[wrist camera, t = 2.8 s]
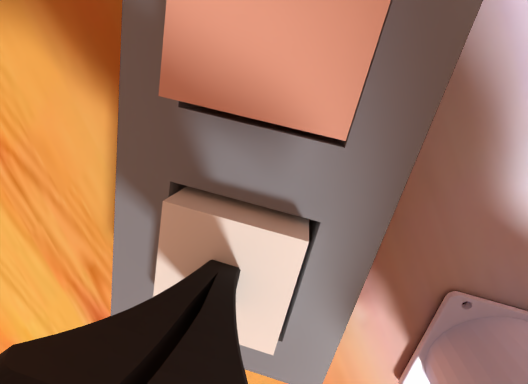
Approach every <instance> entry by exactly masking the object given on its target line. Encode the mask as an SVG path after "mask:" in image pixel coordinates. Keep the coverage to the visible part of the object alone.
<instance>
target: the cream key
mask: <svg viewBox="0 0 528 384" xmlns="http://www.w3.org/2000/svg"><path fill="white" fill-rule="evenodd" d="M308 243H309V219H307V218H303V217H300V216H296V215H292V214H289V213H285V212H281V211H278V210H274V209H270V208H266V207H263V206H259V205H255V204H252V203H248V202H244V201H241V200H237V199H233V198H230V197H226V196H222V195H218V194H215V193H211V192H207V191H204V190H200V189H196V188H193V187H189V186H187V187H185V188H183V189H182V190H180V191H178V192H177V193H175V194H173V195H172V196H170V197H169V198H167V199H165V200H164V201H163V203H162V213H161V223H160V233H159V243H158V253H157V263H156V273H155V283H154V292H153V297H154V296H156V295H158V294H159V293H161V292H163V291H164V290H166V289H168V288H170V287H171V286H173V285H175V284H176V283H178V282H179V281H181V280H182V279H184V278H185V277H187V276H188V275H190V274H191V273H193V272H194V271H196V270H197V269H198V268H200V267H201V266H203V265H204V264H205V263H207V262H208V261H210V260H215V261H219V262H222V263H226V264H229V265H232V266H236V267H239V269H240V270H241V271H240V275H239V280H238V284H237V289H236V320H237V331H238V338H239V345H242V346H245V347H248V348H252V349H255V350H258V351H261V352H264V353H267V354H270V355H273V354H274V351H275V348H276V345H277V342H278V339H279V335H280V332H281V329H282V326H283V323H284V320H285V316H286V313H287V310H288V307H289V304H290V301H291V297H292V294H293V291H294V288H295V285H296V282H297V278H298V275H299V272H300V269H301V266H302V263H303V259H304V256H305V253H306V250H307V247H308Z"/></svg>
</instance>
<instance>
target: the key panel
mask: <svg viewBox="0 0 528 384" xmlns="http://www.w3.org/2000/svg"><path fill="white" fill-rule="evenodd" d="M482 1H483V0H391V1H390V4H389V7H388V11H387V14H386V17H385V20H384V23H383V26H382V29H381V32H380V35H379V39H378V42H377V45H376V48H375V51H374V54H373V57H372V60H371V63H370V67H369V70H368V73H367V76H366V79H365V82H364V85H363V88H362V91H361V95H360V98H359V101H358V104H357V107H356V110H355V113H354V116H353V119H352V123H351V126H350V129H349V132H348V135H347V138H346V141H343V140H339V139H335V138H331V137H327V136H323V135H318V134H314V133H310V132H306V131H302V130H298V129H294V128H289V127H285V126H281V125H277V124H273V123H269V122H265V121H260V120H256V119H252V118H248V117H244V116H240V115H236V114H231V113H227V112H223V111H219V110H215V109H211V108H207V107H202V106H198V105H194V104H190V103H186V102H182V101H178V100H173V99H169V98H165V97H161V96H159V84H160V72H161V60H162V48H163V36H164V24H165V12H166V0H123V2H122V29H121V56H120V83H119V110H118V137H117V164H116V191H115V218H114V245H113V272H112V299H111V316H112V315H115V314H117V313H120V312H122V311H125V310H127V309H130V308H132V307H134V306H136V305H138V304H140V303H142V302H144V301H146V300H148V299H150V298H152V297H153V292H154V283H155V273H156V263H157V253H158V243H159V233H160V223H161V213H162V203H163V201H164V200H165V199H167V198H169V197H170V196H172V195H173V194H175V193H177V192H178V191H180V190H182V189H183V188H185V187H187V186H189V187H193V188H196V189H200V190H204V191H207V192H211V193H215V194H218V195H222V196H226V197H230V198H233V199H237V200H241V201H244V202H248V203H252V204H255V205H259V206H263V207H266V208H270V209H274V210H278V211H281V212H285V213H289V214H292V215H296V216H300V217H303V218H307V219H310V221H309V243H308V247H307V250H306V253H305V256H304V259H303V263H302V266H301V269H300V272H299V275H298V278H297V282H296V285H295V288H294V291H293V294H292V297H291V301H290V304H289V307H288V310H287V313H286V316H285V320H284V323H283V326H282V329H281V332H280V335H279V339H278V342H277V345H276V348H275V351H274V354H273V355H270V354H267V353H264V352H261V351H258V350H255V349H252V348H248V347H245V346H242V345H240V351H241V356H242V361H243V365H244V369H246V370H249V371H252V372H255V373H258V374H261V375H264V376H267V377H270V378H273V379H276V380H279V381H282V382H285V383H288V384H322V383H323V381H324V379H325V376H326V374H327V371H328V369H329V367H330V364H331V362H332V359H333V357H334V355H335V352H336V350H337V347H338V345H339V343H340V340H341V338H342V336H343V333H344V331H345V328H346V326H347V324H348V321H349V319H350V316H351V314H352V312H353V309H354V307H355V305H356V302H357V300H358V297H359V295H360V293H361V290H362V288H363V285H364V283H365V281H366V278H367V276H368V273H369V271H370V269H371V266H372V264H373V262H374V259H375V257H376V254H377V252H378V250H379V247H380V245H381V242H382V240H383V238H384V235H385V233H386V231H387V228H388V226H389V223H390V221H391V219H392V216H393V214H394V211H395V209H396V207H397V204H398V202H399V200H400V197H401V195H402V192H403V190H404V188H405V185H406V183H407V180H408V178H409V176H410V173H411V171H412V168H413V166H414V164H415V161H416V159H417V157H418V154H419V152H420V149H421V147H422V145H423V142H424V140H425V137H426V135H427V133H428V130H429V128H430V126H431V123H432V121H433V118H434V116H435V114H436V111H437V109H438V106H439V104H440V102H441V99H442V97H443V95H444V92H445V90H446V87H447V85H448V83H449V80H450V78H451V75H452V73H453V71H454V68H455V66H456V63H457V61H458V59H459V56H460V54H461V52H462V49H463V47H464V44H465V42H466V40H467V37H468V35H469V32H470V30H471V28H472V25H473V23H474V21H475V18H476V16H477V13H478V11H479V9H480V6H481V4H482Z"/></svg>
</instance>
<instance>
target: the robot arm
mask: <svg viewBox="0 0 528 384" xmlns="http://www.w3.org/2000/svg"><path fill="white" fill-rule="evenodd" d="M240 271H241V270H240V269H239V267H236V266H232V265H229V264H226V263H222V262H219V261H215V260H210V261H208V262H207V263H205V264H204V265H203V266H201V267H200V268H198V269H197V270H196V271H194V272H193V273H191V274H190V275H188V276H187V277H185V278H184V279H182V280H181V281H179V282H178V283H176V284H175V285H173V286H171V287H170V288H168V289H166V290H164V291H163V292H161V293H159V294H158V295H156V296H154V297H152V298H150V299H148V300H146V301H144V302H142V303H140V304H138V305H136V306H134V307H132V308H130V309H127V310H125V311H122V312H120V313H117V314H115V315H112V316H110V317H107V318H105V319H102V320H99V321H97V322H94V323H91V324H88V325H85V326H82V327H78V328H75V329H72V330H69V331H65V332H62V333H58V334H55V335H51V336H47V337H43V338H39V339H35V340H31V341H27V342H23V343H19V344H15V345H12V346H11V347H9V348H8V349H7V350H5V351H4V352H3V353H1V354H0V384H248V382H247V378H246V374H245V369H244V365H243V361H242V356H241V351H240V345H239V338H238V331H237V320H236V289H237V284H238V280H239V275H240ZM466 301H467V303H466V304H462V303H463V302H466ZM398 383H399V384H528V311H525V310H522V309H518V308H515V307H511V306H508V305H504V304H501V303H497V302H493V301H490V300H486V299H483V298H479V297H476V296H472V295H469V294H465V293H462V292H457V291H453V292H450V293H448V294H447V295H446V296H445V298H444V300H443V301H442V303H441V305H440V307H439V309H438V310H437V312H436V314H435V316H434V318H433V320H432V321H431V323H430V325H429V327H428V329H427V330H426V332H425V334H424V336H423V338H422V339H421V341H420V343H419V345H418V347H417V348H416V350H415V352H414V354H413V356H412V358H411V359H410V361H409V363H408V365H407V367H406V368H405V370H404V372H403V374H402V376H401V377H400V379H399V382H398Z"/></svg>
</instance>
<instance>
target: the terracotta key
mask: <svg viewBox="0 0 528 384" xmlns="http://www.w3.org/2000/svg"><path fill="white" fill-rule="evenodd" d="M390 1H391V0H166V12H165V24H164V36H163V48H162V60H161V72H160V84H159V96H161V97H165V98H169V99H173V100H178V101H182V102H186V103H190V104H194V105H198V106H202V107H207V108H211V109H215V110H219V111H223V112H227V113H231V114H236V115H240V116H244V117H248V118H252V119H256V120H260V121H265V122H269V123H273V124H277V125H281V126H285V127H289V128H294V129H298V130H302V131H306V132H310V133H314V134H318V135H323V136H327V137H331V138H335V139H339V140H343V141H346V138H347V135H348V132H349V129H350V126H351V123H352V119H353V116H354V113H355V110H356V107H357V104H358V101H359V98H360V95H361V91H362V88H363V85H364V82H365V79H366V76H367V73H368V70H369V67H370V63H371V60H372V57H373V54H374V51H375V48H376V45H377V42H378V39H379V35H380V32H381V29H382V26H383V23H384V20H385V17H386V14H387V11H388V7H389V4H390Z"/></svg>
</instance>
